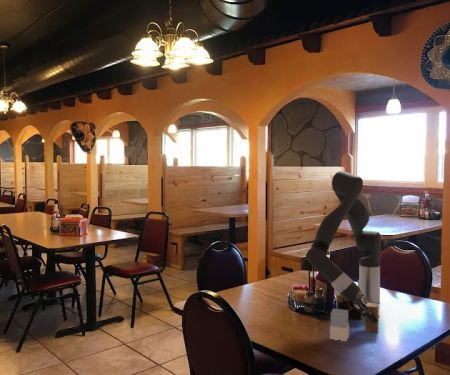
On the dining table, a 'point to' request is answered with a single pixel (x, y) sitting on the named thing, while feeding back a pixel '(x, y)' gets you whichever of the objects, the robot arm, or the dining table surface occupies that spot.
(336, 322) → the block
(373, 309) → the pillar
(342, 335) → the tower base
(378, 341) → the dining table surface
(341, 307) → the yellow patterned cube
